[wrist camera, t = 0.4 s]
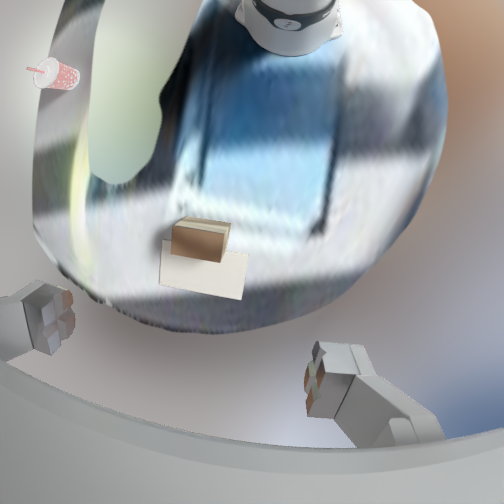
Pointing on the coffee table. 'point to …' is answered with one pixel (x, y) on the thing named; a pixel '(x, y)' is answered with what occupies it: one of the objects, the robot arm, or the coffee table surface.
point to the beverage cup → (55, 75)
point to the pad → (204, 273)
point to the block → (200, 239)
